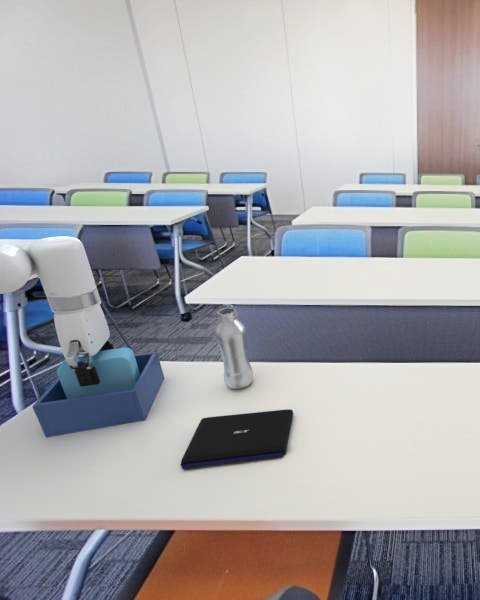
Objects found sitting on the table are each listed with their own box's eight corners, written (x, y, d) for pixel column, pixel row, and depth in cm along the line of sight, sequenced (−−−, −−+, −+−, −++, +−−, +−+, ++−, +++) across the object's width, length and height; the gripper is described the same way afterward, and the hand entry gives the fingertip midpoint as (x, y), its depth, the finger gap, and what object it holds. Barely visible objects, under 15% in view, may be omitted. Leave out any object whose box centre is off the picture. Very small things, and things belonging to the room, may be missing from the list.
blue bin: (45, 437, 79) (31, 406, 77) (81, 389, 94) (70, 362, 91) (145, 420, 85) (135, 391, 82) (164, 378, 99) (157, 351, 96)
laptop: (279, 469, 75) (278, 461, 74) (168, 471, 73) (165, 463, 73) (302, 414, 90) (301, 407, 89) (210, 414, 88) (208, 407, 87)
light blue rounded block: (145, 390, 94) (131, 345, 89) (141, 401, 90) (127, 355, 85) (79, 402, 88) (61, 356, 84) (73, 415, 85) (53, 367, 80)
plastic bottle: (226, 395, 94) (211, 319, 87) (224, 380, 100) (209, 308, 92) (256, 387, 98) (244, 314, 90) (252, 374, 103) (240, 303, 95)
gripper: (70, 285, 85) (94, 354, 92) (26, 319, 71) (58, 398, 77) (113, 283, 88) (133, 350, 95) (79, 315, 73) (106, 392, 80)
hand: (99, 372), depth 86 cm, fingers open, 9 cm apart
